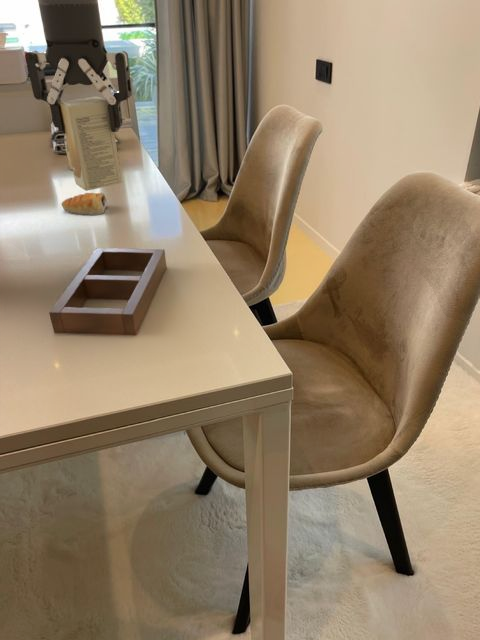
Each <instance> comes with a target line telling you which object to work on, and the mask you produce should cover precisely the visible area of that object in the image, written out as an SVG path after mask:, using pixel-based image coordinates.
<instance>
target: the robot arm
mask: <svg viewBox="0 0 480 640" xmlns="http://www.w3.org/2000/svg"><path fill="white" fill-rule="evenodd" d="M37 3H38V7H39V8H38V9H39V12H40V13H39V14H40V18H41V23H42V29H43V34H44V35H43V36H44V39H45V44H46V49H45V51H37V50H31V51H29V52H26V53H25V56H24V57H25V63H26V66H27V71H28V76H29V80H30V84H31V85H30V86H31V89H32V94H33V97H34V99H36V100H38V101H39V100H41V101H44V102H46V103H47V104H48V105H49V109H50V114H51V118H52V119H51V120H52V123H53V124H54V126H55V127H58V130H59V132H65V129H64V124H63V119H62V114H61V109H60V104H59V102H61V101H62V98H63V95H64V93H65V91H66V89H67V87H68V86H75V85H79V84H80V85H83V86H91V85H93V86H94V87H95V89H96V90H97V91H98V92H100V93H101V94H102V96H103V97H104V99H106V100H107V101H108V103H109V105H108V113H109V120H110V127H111V132H114V133H117V132H119V130H120V128H121V127H122V126H123V124H124V123H123V116H122V115H123V114H122V108H121V103H122V102H123V101H126V100H128V99H129V98H131V97H132V95H133V90H132V89H133V88H132V80H131V72H130V71H131V70H130V61H129V55H128V53H127V51H125V50H122V51H119V52H108V50H107V49H106V48H105V45H104V39H103V32H102V25H101V24H102V23H101V18H100V12H99V11H100V10H99V5H98V4H99V3H98V0H37ZM108 62H109V63H110V64H111V67H112V69H113V70H114V71H116V77H117V86H118V91H117V89H116V88H115V87H114V85H113V84H112V81H111V79H110V78H109V77H108V76H107V74H106V72H105V71H104V70H105V68H106V66H107V64H108ZM46 63H48V64H49V65H50V67H51V68H52V69H53V70H54V71H55V74H54V77H53V79H52V81H51V84H50V89H48V85H47V80H46V76H45V71H44V69H45V68H46V66H47V64H46Z"/></svg>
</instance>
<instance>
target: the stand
mask: <svg viewBox="0 0 480 640" xmlns="http://www.w3.org/2000/svg"><path fill="white" fill-rule="evenodd" d="M166 269H167V260H166V251H165V249H162V248H159V249H158V248H157V249H156V248H154V249H153V248H113V247H112V248H109V247H107V248H105V247H101V248H100V247H96V248H95V250H94V251H93V252H92V254H91V255H90V256H89V257H88V259H87V261H86V262H85V263H84V264H83V265H82V267H81V268H80V270H79V271H78V273H77V274H76V275H75V276H74V278H73V279H72V280H71V282H70V283H69V284H68V286H67V288H66V289H65V290H64V291H63V292H62V294H61V296H60V297H59V298H58V299H57V300H56V302H55V304H54V305H53V306H52V307H51V309H50V310H49V312H48V314H49V318H50V322H51V326H52V330H53V333H54V334H73V335H74V334H76V335H109V336H110V335H111V336H115V335H116V336H136V335H138V332H139V330H140V327H141V325H142V323H143V320H144V318H145V316H146V314H147V312H148V310H149V308H150V305H151V303H152V300H153V298H154V296H155V294H156V292H157V289H158V287H159V285H160V283H161V281H162V279H163V276H164V274H165V272H166ZM106 271H124V272H125V271H126V272H127V271H129V272H130V271H131V272H132V271H133V272H143V273H142V275H109V274H108V275H105V272H106ZM89 299H90V300H127V301H128V302H127V303H126V305H125V307H124V308H111V307H110V308H109V307H108V308H107V307H106V308H105V307H102V308H101V307H83V306H84V304H85V303H86V302H87V300H89Z"/></svg>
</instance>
